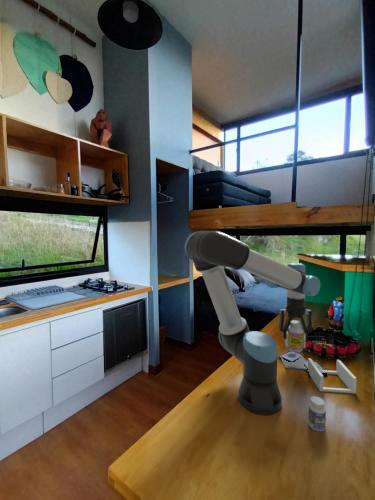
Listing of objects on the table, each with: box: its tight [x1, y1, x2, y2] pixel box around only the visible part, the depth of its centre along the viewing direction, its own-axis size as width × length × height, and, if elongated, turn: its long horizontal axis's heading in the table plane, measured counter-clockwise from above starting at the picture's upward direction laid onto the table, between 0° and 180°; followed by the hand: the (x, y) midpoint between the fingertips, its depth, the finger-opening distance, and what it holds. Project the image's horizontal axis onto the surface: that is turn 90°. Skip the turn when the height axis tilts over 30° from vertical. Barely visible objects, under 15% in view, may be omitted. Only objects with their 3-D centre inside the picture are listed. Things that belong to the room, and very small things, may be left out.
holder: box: [307, 358, 357, 394], centre depth 98 cm, size 13×13×6 cm
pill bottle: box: [307, 396, 327, 432], centre depth 76 cm, size 5×5×8 cm
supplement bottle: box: [287, 319, 304, 353], centre depth 111 cm, size 7×7×13 cm
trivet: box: [278, 354, 308, 371], centre depth 112 cm, size 11×11×1 cm
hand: (295, 345), depth 112 cm, fingers closed on supplement bottle, 7 cm apart
